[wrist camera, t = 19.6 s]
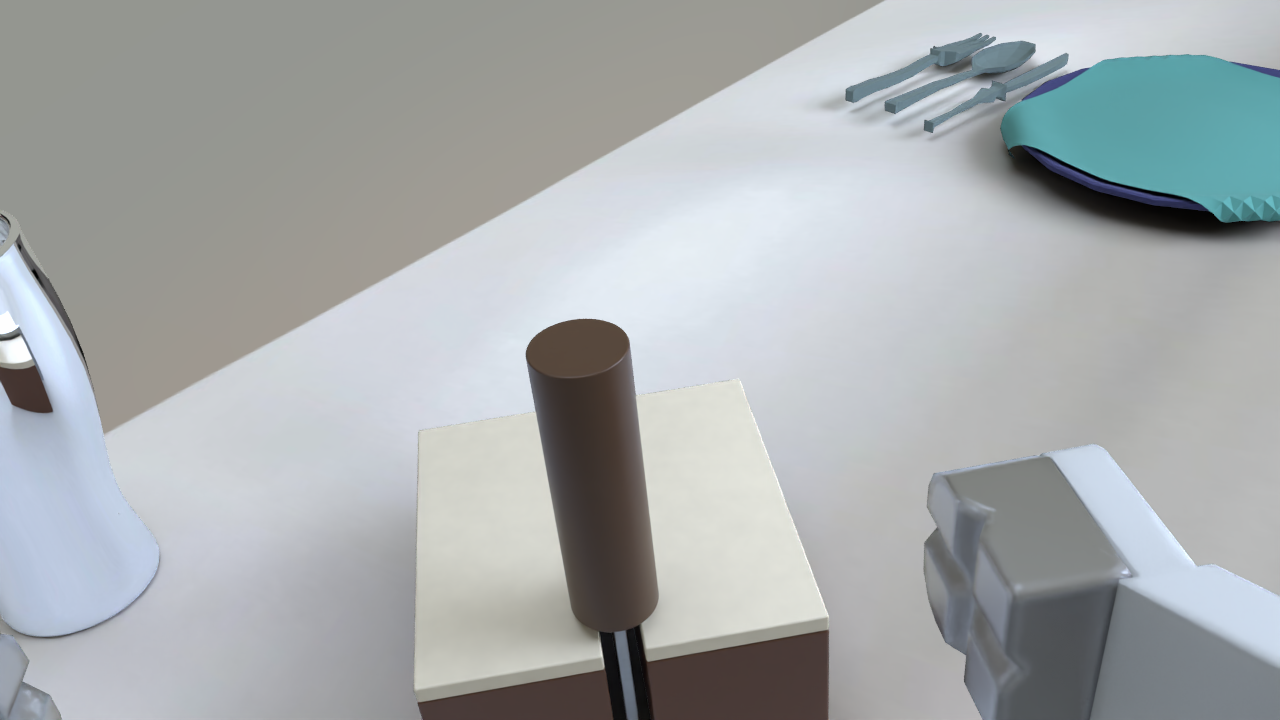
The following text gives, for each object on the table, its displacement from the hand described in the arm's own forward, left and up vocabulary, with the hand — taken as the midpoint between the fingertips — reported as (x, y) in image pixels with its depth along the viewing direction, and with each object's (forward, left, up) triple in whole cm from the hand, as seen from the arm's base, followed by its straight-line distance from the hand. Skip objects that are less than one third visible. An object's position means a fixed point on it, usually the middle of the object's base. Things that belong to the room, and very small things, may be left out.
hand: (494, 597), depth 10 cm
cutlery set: (+58, +28, -24) cm, 69 cm away
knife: (+12, +18, -24) cm, 32 cm away
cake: (+12, +17, -24) cm, 32 cm away
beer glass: (-2, +34, -24) cm, 42 cm away
